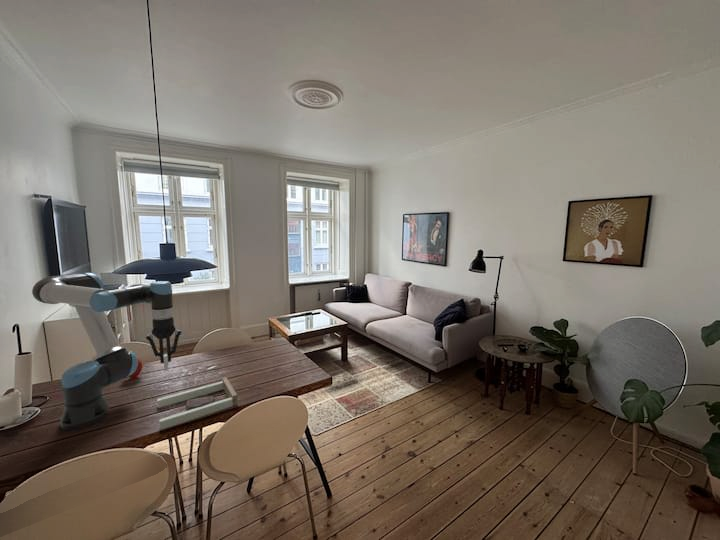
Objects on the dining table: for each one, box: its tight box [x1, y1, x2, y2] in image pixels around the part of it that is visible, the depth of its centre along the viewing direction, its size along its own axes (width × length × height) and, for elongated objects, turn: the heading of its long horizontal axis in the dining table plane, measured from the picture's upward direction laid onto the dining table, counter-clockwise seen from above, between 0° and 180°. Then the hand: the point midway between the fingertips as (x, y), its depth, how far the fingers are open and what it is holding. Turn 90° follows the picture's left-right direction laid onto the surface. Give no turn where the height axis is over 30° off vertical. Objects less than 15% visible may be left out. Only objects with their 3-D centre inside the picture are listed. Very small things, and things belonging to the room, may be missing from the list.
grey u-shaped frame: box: [156, 376, 238, 430], centre depth 135 cm, size 30×20×5 cm, turn 128°
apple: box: [127, 358, 143, 379], centre depth 157 cm, size 9×8×11 cm
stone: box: [185, 395, 216, 411], centre depth 133 cm, size 12×9×5 cm
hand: (166, 369), depth 127 cm, fingers closed
